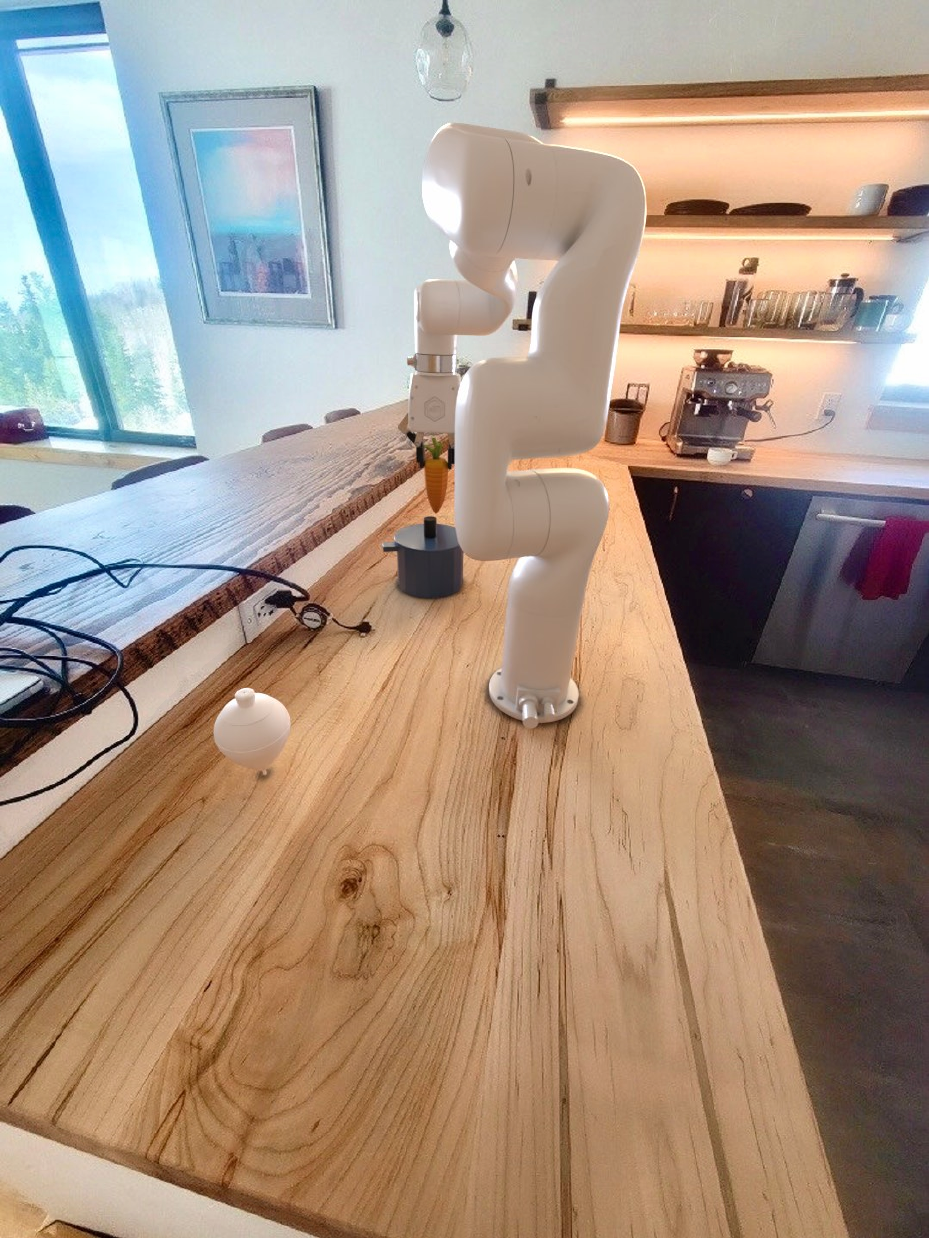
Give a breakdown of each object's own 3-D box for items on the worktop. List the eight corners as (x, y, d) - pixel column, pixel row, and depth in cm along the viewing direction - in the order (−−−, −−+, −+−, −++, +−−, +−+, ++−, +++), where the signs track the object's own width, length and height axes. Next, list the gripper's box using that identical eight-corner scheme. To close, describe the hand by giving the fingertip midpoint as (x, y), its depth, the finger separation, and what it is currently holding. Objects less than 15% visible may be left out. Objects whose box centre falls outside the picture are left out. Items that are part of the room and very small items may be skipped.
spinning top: (275, 740, 62) (257, 661, 56) (313, 771, 58) (298, 690, 52) (215, 777, 57) (188, 694, 51) (252, 814, 53) (228, 729, 47)
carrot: (444, 518, 103) (445, 442, 95) (421, 516, 103) (420, 440, 96) (450, 510, 107) (451, 437, 99) (427, 508, 108) (427, 435, 100)
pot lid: (473, 553, 91) (474, 529, 89) (398, 558, 89) (397, 533, 86) (457, 527, 103) (458, 505, 100) (391, 530, 100) (389, 508, 98)
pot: (481, 594, 97) (484, 548, 92) (387, 601, 93) (385, 554, 88) (467, 566, 107) (468, 524, 102) (382, 572, 104) (379, 529, 99)
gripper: (385, 365, 88) (390, 470, 97) (482, 369, 87) (478, 474, 97) (392, 362, 94) (396, 460, 104) (483, 365, 94) (478, 464, 103)
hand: (436, 466), depth 100 cm, fingers closed on carrot, 4 cm apart
